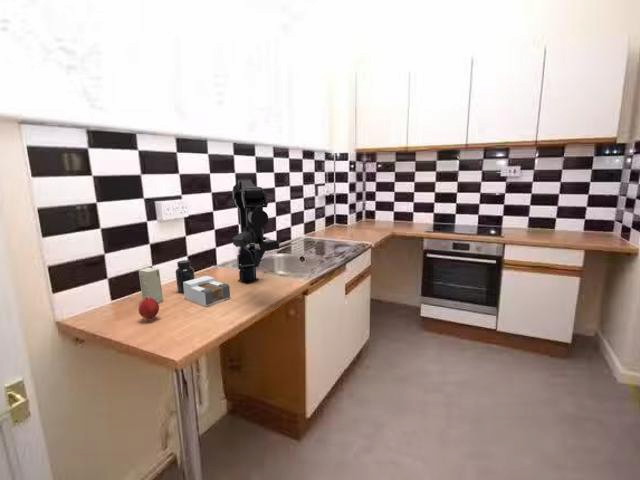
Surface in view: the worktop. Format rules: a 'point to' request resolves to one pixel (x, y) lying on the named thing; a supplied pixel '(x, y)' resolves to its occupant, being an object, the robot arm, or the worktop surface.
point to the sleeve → (204, 290)
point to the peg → (214, 291)
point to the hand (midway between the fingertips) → (256, 266)
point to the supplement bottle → (183, 274)
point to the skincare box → (151, 284)
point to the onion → (148, 308)
